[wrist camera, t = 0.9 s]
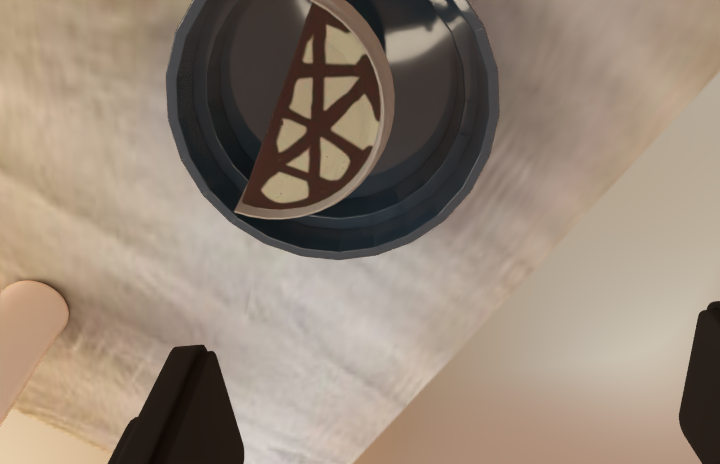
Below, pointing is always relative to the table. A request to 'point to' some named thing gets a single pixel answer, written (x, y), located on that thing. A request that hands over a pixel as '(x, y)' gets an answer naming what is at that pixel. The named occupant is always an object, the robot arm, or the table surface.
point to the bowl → (408, 133)
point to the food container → (324, 118)
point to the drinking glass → (26, 334)
